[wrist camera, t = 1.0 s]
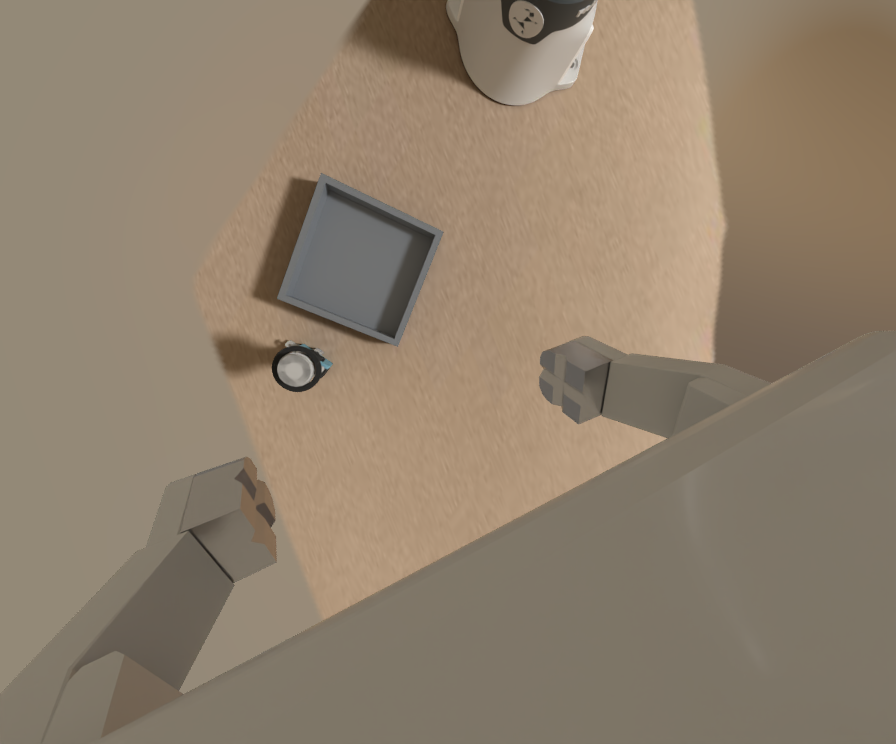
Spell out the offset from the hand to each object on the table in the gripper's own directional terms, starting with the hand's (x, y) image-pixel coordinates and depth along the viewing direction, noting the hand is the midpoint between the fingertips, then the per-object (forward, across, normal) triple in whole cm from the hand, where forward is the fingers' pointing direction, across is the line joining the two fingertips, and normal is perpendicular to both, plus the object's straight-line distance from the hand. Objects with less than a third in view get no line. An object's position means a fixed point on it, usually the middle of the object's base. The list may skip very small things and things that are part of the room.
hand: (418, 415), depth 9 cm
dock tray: (+41, -7, +6) cm, 42 cm away
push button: (+40, +3, +16) cm, 43 cm away
